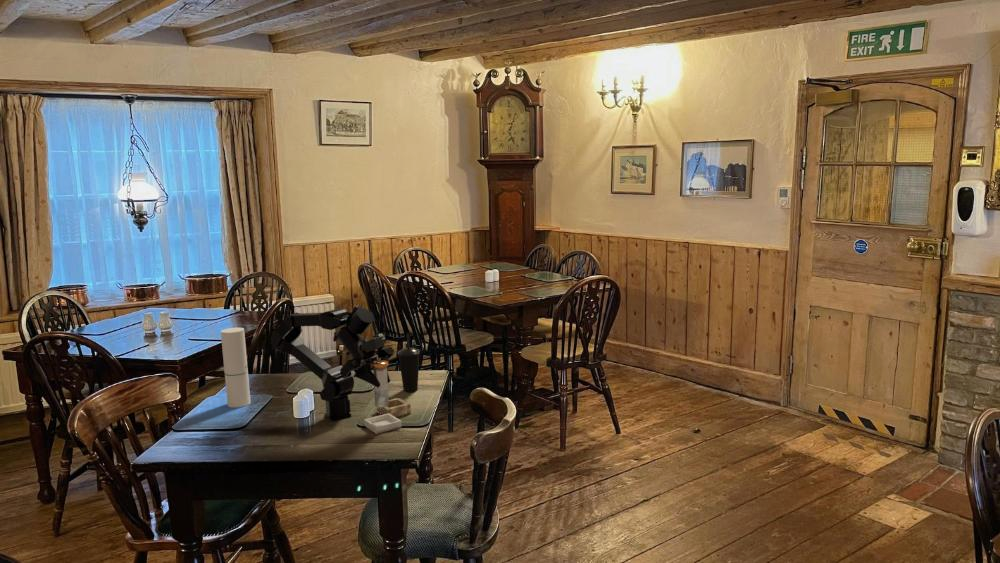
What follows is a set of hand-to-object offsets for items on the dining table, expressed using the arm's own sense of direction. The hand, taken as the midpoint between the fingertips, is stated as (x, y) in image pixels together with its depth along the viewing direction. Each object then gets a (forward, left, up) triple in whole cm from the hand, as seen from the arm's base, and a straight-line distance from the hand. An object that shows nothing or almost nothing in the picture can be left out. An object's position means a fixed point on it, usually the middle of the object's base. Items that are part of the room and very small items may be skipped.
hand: (384, 384), depth 208 cm
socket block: (+7, +10, -13) cm, 18 cm away
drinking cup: (+22, +26, -13) cm, 37 cm away
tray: (-1, +1, -13) cm, 13 cm away
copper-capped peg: (-1, +1, -7) cm, 7 cm away
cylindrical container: (-29, +50, -13) cm, 59 cm away
